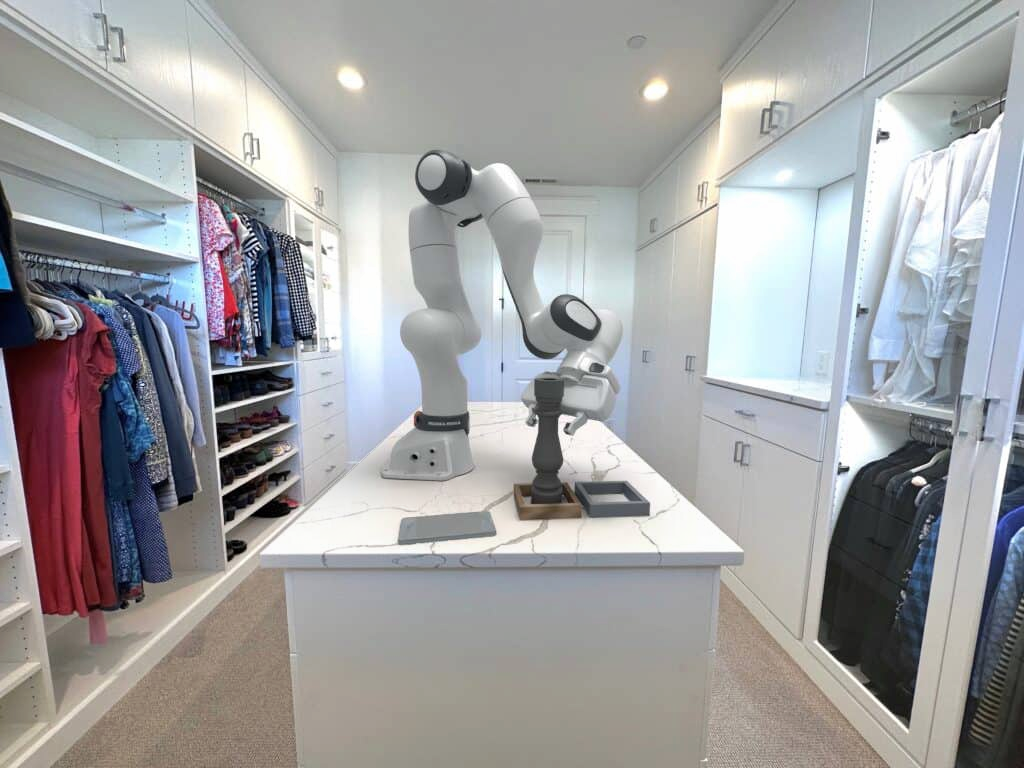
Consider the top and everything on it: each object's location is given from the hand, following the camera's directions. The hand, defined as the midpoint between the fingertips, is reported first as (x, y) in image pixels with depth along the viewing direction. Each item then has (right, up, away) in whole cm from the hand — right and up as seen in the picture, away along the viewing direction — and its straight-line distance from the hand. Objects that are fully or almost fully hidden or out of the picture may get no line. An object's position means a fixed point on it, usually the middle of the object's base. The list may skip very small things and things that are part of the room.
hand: (547, 429), depth 76 cm
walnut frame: (0, -15, +2) cm, 15 cm away
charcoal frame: (+13, -15, +3) cm, 20 cm away
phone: (-18, -17, -8) cm, 26 cm away
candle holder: (0, -15, +2) cm, 16 cm away
